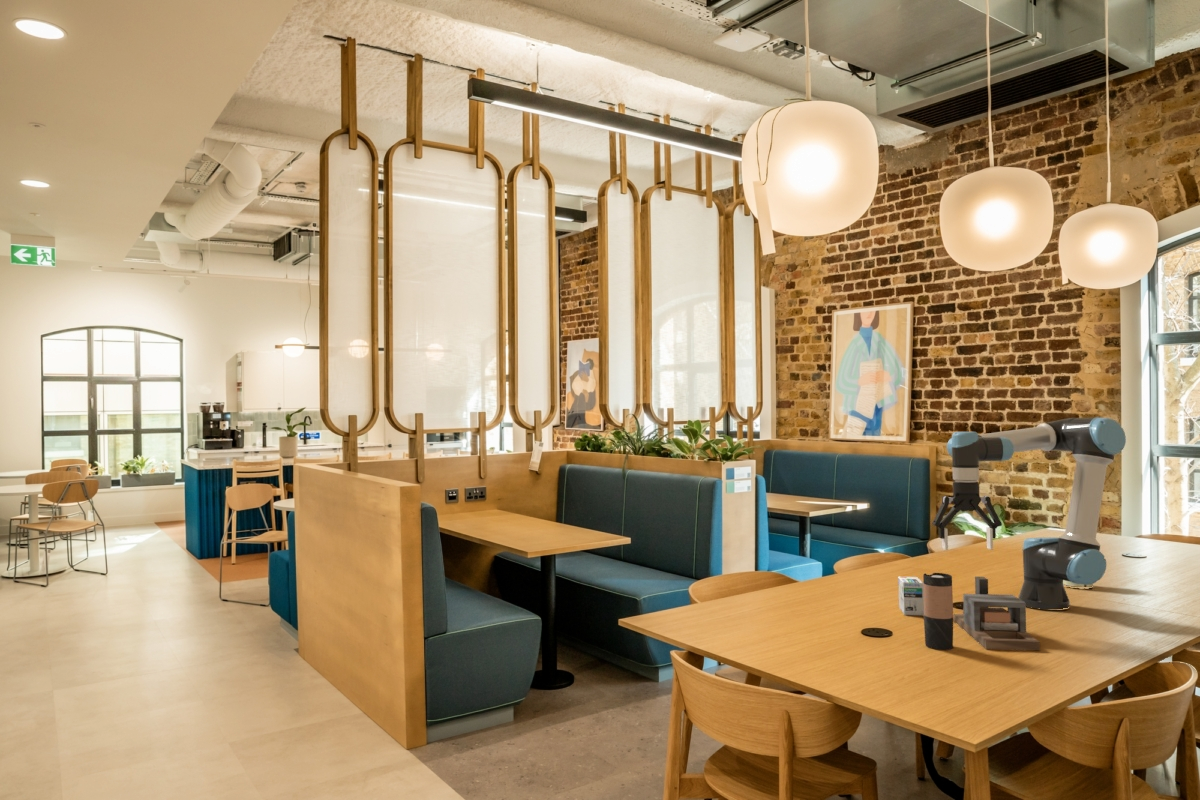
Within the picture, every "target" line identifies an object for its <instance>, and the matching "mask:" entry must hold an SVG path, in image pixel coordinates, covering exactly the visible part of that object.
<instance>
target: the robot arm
mask: <svg viewBox="0 0 1200 800" xmlns="http://www.w3.org/2000/svg"><path fill="white" fill-rule="evenodd" d="M1126 440H1127V438H1126V433H1125V430H1124V428H1123V427H1122V426H1121V424H1120V423H1119V422H1118V421H1117V420H1115V419H1113V418H1109V417H1100V416H1096V417H1069V418H1064V419H1059V420H1053V421H1049V422H1043V423H1039V424H1037V425H1036V426H1035V427H1027V428H1020V429H1012V430H1004V431H995V432H991V433H990V432H989V433H981V434H978V432H976V431H954V432H953V433H952V435H951V438H949V440H947V441H948V442H947V443H946V452H947V454H948V455H949V456H950V457H951V458H952V462H951V463H952V480H953V482H952V494H953V495H952V497H949V496H946V495H943V496H942V501H941V505H940V507H939V508H938V510H937V512H936V515H935V517H934V518H933V521H932V526H933V527H937V528H938V536H939V537H938V538H940V539H941V544H942V545H941V547H942V549H943V550H945V551H948V550H949V536H948V535H949V534H948V531H949V530H948V528H946V527H947V526H948V525H949V524H950V522H951V521H952V520H953V518H955V516H956V515H957V514H958V513H959V512H960V511H961V512H967V511H969V512H973V511H974V512H976V514H978V516H979V517H980V518H981V519H982V520H983V521H984V523H986V525H987V527H986V531H985V532H986V548H987V550H994V539H996V529H997V528H998V527H1002V526H1003V523H1002V521H1001V519H1000V517H999V515H998V514H997V511H996V510H995V508H994V506H993V504H992V501H991V497H990V496H988V495H984V496H980V483H979V482H978V481H979V480H980V462H1003V461H1009V460H1010V459H1012V458H1013V455H1014V453H1015V454H1016V453H1023V452H1028V451H1029V452H1030V451H1037V450H1041V451H1043V452H1049V451H1050V452H1051V451H1055V452H1056V451H1060V452H1070V453H1071V456H1072V457H1073V459H1074V461H1076V462H1075V468H1074V474H1073V481H1072V488H1071V493H1070V499H1069V506H1068V512H1067V519H1066V524H1065V530H1064V531H1065V532H1064V533H1063V534H1061V535H1060V536H1059V537H1057V536H1056V537H1051V536H1050V537H1048V536H1047V537H1044V536H1043V537H1028V538H1025V539H1024V540H1023V543H1022V544H1023V545H1022V546H1023V547H1022V560H1023V563H1022V564H1023V582H1022V585H1021V587H1020V588H1021V589H1020V592H1019V594H1018V598H1019V599H1020V600H1022V601H1024V602H1025V603H1026V606H1027V607H1026V608H1029V607H1032V608H1031V609H1033V608H1040V609H1063V608H1068V607H1069V606H1070V607H1071V604H1070V599H1069V596H1068V594H1067V591H1066V588H1065V587H1064V585H1063V580H1065V581H1069V582H1072V583H1076V584H1083V585H1090V584H1093V585H1094V584H1096V583H1097V582H1098V581H1100V580H1101V579H1102V578H1103V576H1104V574H1105V573H1106V570H1107V559H1106V558H1105V555H1104V554H1103V552H1102V551H1101V544H1100V542H1098V540H1097V532H1098V527H1099V526H1098V525H1099V521H1100V513H1101V509H1102V508H1101V507H1102V500H1103V493H1104V489H1105V481H1106V475H1107V470H1108V466H1109V465H1110V464H1112V463H1114V460H1115V455H1118V454H1120V453H1121V452H1122V450H1124V448H1125V446H1126V442H1127V441H1126ZM951 503H953V504H954V505H952V507H951V508H950V510H949V512H948V513H947V514H946V511H947V510H948V507H949V505H950V504H951ZM980 503H982V504H983V505H984V508H986V511H987V512H988V514H989V516H990V517H989V516H988V515H987V514H986V513H985V511H984V510H983V509H982V508H981V507H980V506H979V505H980ZM1040 609H1039V610H1040Z"/></svg>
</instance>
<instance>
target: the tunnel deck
mask: <svg viewBox="0 0 1200 800" xmlns="http://www.w3.org/2000/svg"><path fill="white" fill-rule="evenodd" d="M962 595H963V596H962V598H963V599H962V601H963V603H962V604H963V609H964V615H963V613H953V623H954V624H956V623H957V624H958V625H959V626H958V625H957V624H956V625H957V626H958V627H959V628H961V629H962V630H963V629H964V630H965V631H966V632H967V633H966V632H965V631H964V630H963V631H964V632H965V633H966V634H967V635H969V637H971V636H972V637H973V638H974V639H973V638H972V637H971V638H972V639H973V640H974V641H976V642H977V643H978V642H979V643H978V644H979V645H980V644H981V645H980V646H981V647H983V649H985V650H992V649H994V650H996V651H997V650H998V651H999V650H1000V651H1026V650H1040V651H1041V643H1040V640H1038V639H1036V638H1035V637H1034V636H1032V635H1030V634H1029V633H1028V632H1027V614H1026V612H1027V607H1026V603H1025V602H1024V601H1022V600H1020V599H1019V597H1017V596H1016V595H1014V594H994V593H993V594H991V593H990V594H989V593H988V594H975V593H963V594H962ZM980 607H989V608H1007V611H1008V612H1010V619H1012V620H1013V621H1015V622H1016V623H1018V631H1011V630H981V629H980Z"/></svg>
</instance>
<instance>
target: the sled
mask: <svg viewBox="0 0 1200 800" xmlns="http://www.w3.org/2000/svg"><path fill="white" fill-rule="evenodd" d="M974 584H975V585H974V586H975V587H974V588H975V589H974V591H975V593H974V594H989V579H988V578H987V577H985V576H974ZM985 608H990V607H985ZM962 614H963V615H964V608H963V609H962ZM980 629H981V630H1011V631H1018V623H1016V622H1015V621H1013V620H1012V619H1010V623H1004V622H983V621H982V620H980Z"/></svg>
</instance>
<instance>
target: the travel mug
mask: <svg viewBox="0 0 1200 800" xmlns="http://www.w3.org/2000/svg"><path fill="white" fill-rule="evenodd" d="M922 582H923V591H924V616H923V626H924V641H925V643H924V644H925V647H927V648H929V649H933V650H938V651H949V650H952V649H953V647H954V646H953V645H954V602H953V601H954V599H953V597H954V595H953V576H952V575H951V574H949V573H943V572H933V573H932V574H928V573H925V572H924V573H923V579H922Z"/></svg>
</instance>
